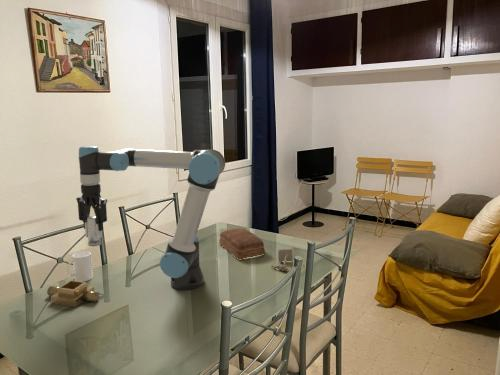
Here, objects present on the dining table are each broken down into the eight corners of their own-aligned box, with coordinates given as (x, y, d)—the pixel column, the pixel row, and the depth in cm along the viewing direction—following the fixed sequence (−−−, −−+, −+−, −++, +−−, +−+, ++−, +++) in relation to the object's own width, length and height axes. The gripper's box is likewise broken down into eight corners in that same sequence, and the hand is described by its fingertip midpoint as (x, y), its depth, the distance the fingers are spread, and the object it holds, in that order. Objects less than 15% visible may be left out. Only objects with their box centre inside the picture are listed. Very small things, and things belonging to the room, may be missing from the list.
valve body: (105, 294, 166) (104, 282, 165) (87, 308, 155) (86, 294, 154) (61, 288, 172) (59, 276, 171) (40, 301, 161) (38, 288, 160)
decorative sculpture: (288, 274, 187) (288, 260, 186) (268, 272, 190) (269, 258, 188) (293, 261, 203) (293, 248, 201) (275, 259, 205) (275, 246, 203)
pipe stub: (103, 242, 166) (102, 216, 164) (95, 246, 161) (94, 219, 159) (93, 241, 168) (91, 215, 165) (85, 245, 163) (83, 218, 160)
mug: (72, 285, 175) (69, 261, 173) (64, 280, 181) (61, 256, 178) (96, 277, 184) (94, 253, 181) (88, 272, 189) (86, 249, 187)
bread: (243, 240, 235) (243, 222, 233) (266, 256, 209) (266, 236, 207) (217, 245, 228) (217, 226, 225) (238, 262, 202) (238, 241, 200)
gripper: (114, 183, 160) (117, 236, 165) (78, 180, 165) (82, 232, 170) (103, 186, 153) (106, 242, 158) (66, 183, 158) (70, 237, 163)
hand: (94, 237), depth 164 cm, fingers closed on pipe stub, 5 cm apart
